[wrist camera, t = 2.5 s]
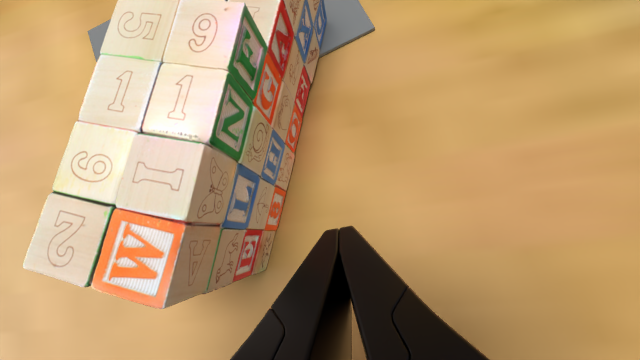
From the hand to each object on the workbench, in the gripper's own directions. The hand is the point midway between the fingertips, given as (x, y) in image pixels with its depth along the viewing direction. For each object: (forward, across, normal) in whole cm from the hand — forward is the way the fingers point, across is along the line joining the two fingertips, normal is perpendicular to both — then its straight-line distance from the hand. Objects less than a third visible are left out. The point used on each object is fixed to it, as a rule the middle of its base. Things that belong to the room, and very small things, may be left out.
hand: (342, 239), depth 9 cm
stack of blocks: (+16, +6, 0) cm, 17 cm away
